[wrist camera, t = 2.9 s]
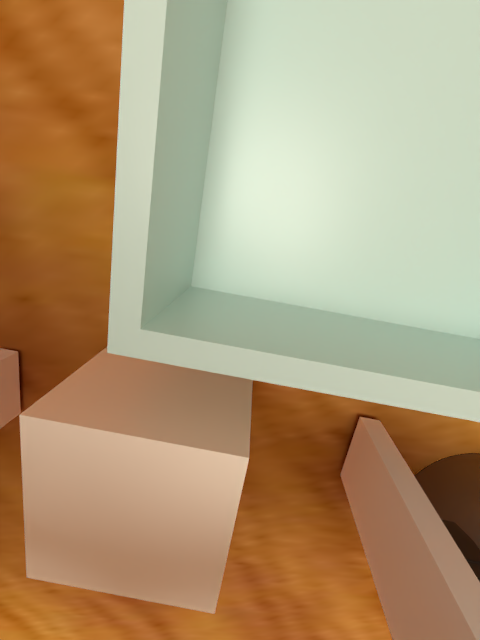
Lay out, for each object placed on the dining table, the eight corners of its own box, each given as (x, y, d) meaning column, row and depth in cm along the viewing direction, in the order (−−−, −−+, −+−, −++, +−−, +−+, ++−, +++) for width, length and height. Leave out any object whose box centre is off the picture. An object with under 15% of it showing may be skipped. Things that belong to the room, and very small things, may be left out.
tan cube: (113, 447, 13) (26, 577, 8) (120, 336, 11) (19, 414, 7) (231, 469, 13) (214, 614, 8) (253, 361, 11) (248, 458, 7)
